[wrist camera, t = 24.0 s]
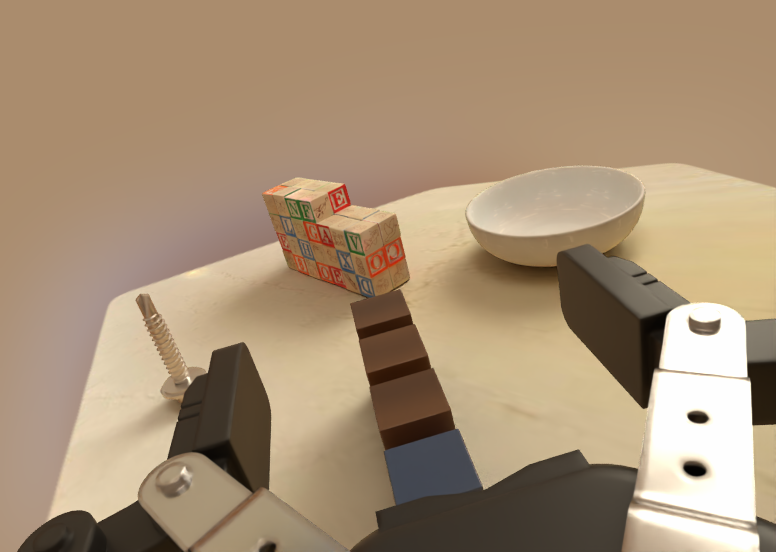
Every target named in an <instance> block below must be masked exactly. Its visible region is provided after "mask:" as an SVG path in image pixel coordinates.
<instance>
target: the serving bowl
mask: <svg viewBox="0 0 776 552" xmlns="http://www.w3.org/2000/svg"><path fill="white" fill-rule="evenodd" d="M644 198H645V186H644V184H643V183H642V181H641V180H640V179H639V178H637V177H636V176H634V175H632V174H630V173H628V172H625V171H622V170H618V169H614V168H608V167H599V166H565V167H556V168H549V169H542V170H538V171H533V172H529V173H525V174H521V175H518V176H515V177H512V178H509V179H506V180H503V181H501V182H498V183H496V184H494V185H492V186H490V187H488V188H487V189H485V190H483V191H482V192H480V193H479V194H478V195H476V196H475V197H474V198H473V199H472V200H471V201H470V203H469V204H468V206H467V208H466V213H465V215H466V220H467V222H468V225H469V228H470V230H471V232H472V234H473V236H474V237H475V239H476V240H477V242H478V243H479V244H480V245H481V246H482V247H483V248H484V249H485V250H487V251H488V252H489V253H491V254H492V255H494V256H496V257H498V258H500V259H502V260H505V261H507V262H511V263H515V264H519V265H525V266H535V267H548V266H557V261H556V260H557V254H558V252H560V251H563V250H567V249H570V248H574V247H577V246H581V245H584V244H590V245H591V246H593V247H594V248H595V249H597V250H598V251H599V252H600V253H605V252H606V251H608V250H610V249H612V248H613V247H615V246H616V245H618V244H619V243H620V242H621V241H622V240H624V239H625V238H626V237H627V236H628V235H629V233H630V232H631V231H632V230H633V228H634V227H635V225H636V224H637V222H638V220H639V218H640V215H641V213H642V209H643V205H644Z"/></svg>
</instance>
